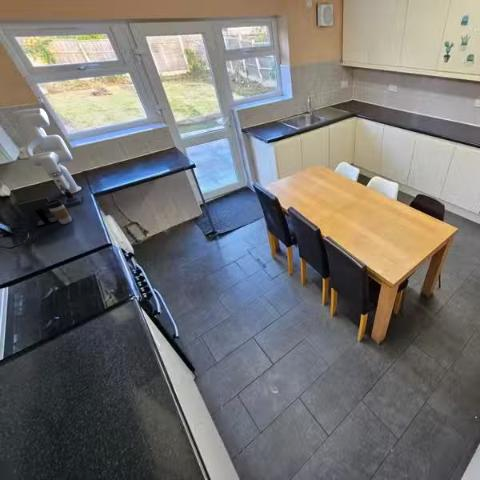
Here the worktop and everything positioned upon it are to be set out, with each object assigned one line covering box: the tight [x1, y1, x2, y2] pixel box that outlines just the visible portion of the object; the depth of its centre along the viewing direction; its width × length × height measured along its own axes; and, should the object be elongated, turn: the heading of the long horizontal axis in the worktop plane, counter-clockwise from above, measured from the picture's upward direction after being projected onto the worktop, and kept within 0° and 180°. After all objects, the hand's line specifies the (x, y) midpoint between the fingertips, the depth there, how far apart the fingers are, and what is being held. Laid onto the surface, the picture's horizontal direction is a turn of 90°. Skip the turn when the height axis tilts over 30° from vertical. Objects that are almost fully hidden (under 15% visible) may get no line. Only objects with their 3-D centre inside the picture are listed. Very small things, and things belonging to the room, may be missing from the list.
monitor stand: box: [35, 209, 59, 228], centre depth 176 cm, size 7×10×10 cm
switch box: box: [63, 194, 82, 208], centre depth 200 cm, size 11×9×4 cm
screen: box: [17, 196, 52, 219], centre depth 173 cm, size 2×14×10 cm, turn 124°
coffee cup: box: [46, 199, 73, 225], centre depth 175 cm, size 8×8×15 cm
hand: (70, 197), depth 198 cm, fingers closed
